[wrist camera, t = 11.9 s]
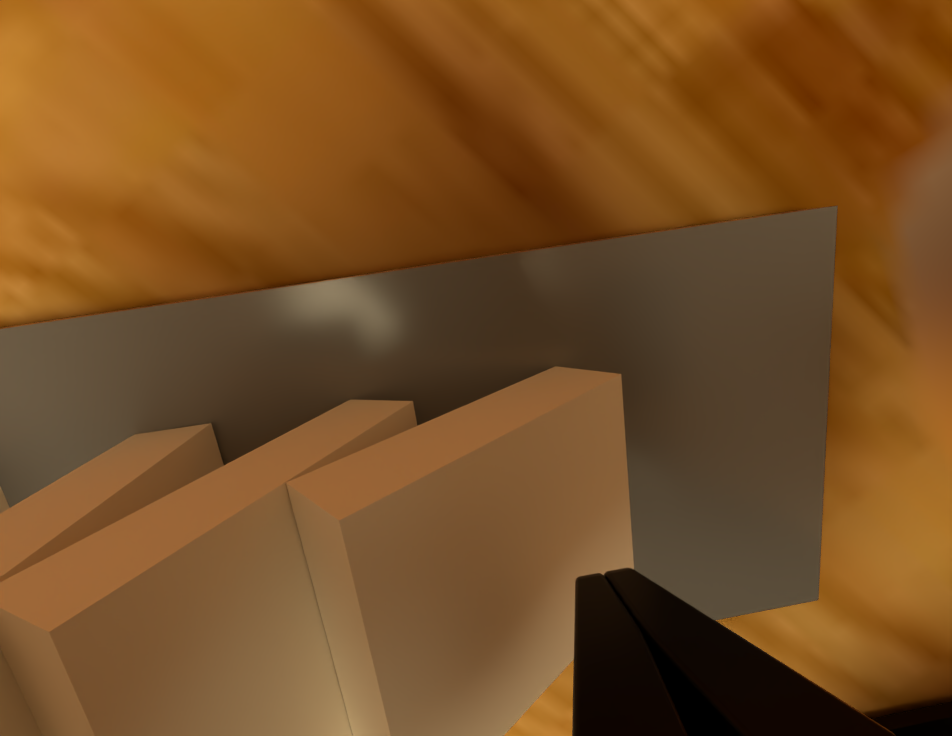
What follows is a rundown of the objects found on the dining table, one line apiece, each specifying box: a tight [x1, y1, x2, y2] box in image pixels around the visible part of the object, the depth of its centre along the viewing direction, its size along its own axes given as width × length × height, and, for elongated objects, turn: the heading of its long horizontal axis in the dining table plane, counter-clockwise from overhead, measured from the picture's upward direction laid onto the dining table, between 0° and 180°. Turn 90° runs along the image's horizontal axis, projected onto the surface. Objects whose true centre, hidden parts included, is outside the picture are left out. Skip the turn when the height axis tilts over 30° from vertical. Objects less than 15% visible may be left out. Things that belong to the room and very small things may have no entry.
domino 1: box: [0, 423, 224, 736], centre depth 8 cm, size 2×5×6 cm, turn 8°
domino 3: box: [286, 366, 634, 736], centre depth 9 cm, size 2×5×6 cm
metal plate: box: [0, 206, 837, 620], centre depth 11 cm, size 31×10×1 cm, turn 98°
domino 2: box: [0, 400, 417, 736], centre depth 8 cm, size 2×5×6 cm
